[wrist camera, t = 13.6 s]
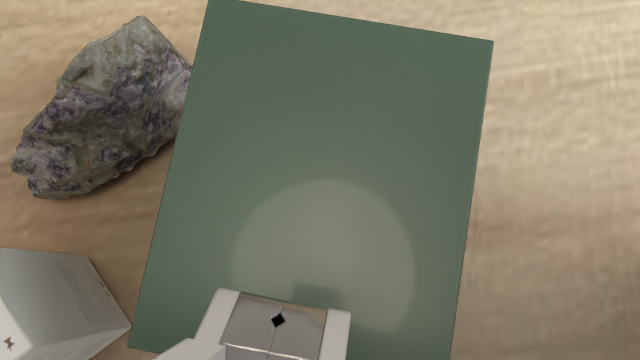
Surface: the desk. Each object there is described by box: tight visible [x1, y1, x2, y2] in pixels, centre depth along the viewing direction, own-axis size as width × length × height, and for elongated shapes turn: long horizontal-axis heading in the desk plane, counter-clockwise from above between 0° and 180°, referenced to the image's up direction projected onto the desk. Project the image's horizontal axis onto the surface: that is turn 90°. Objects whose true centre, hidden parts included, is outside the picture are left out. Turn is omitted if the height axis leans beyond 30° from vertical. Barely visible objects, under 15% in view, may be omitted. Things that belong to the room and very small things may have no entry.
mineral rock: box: [10, 16, 193, 199], centre depth 37 cm, size 13×11×10 cm
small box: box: [0, 247, 132, 360], centre depth 33 cm, size 8×6×13 cm
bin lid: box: [127, 0, 494, 360], centre depth 24 cm, size 16×13×1 cm
